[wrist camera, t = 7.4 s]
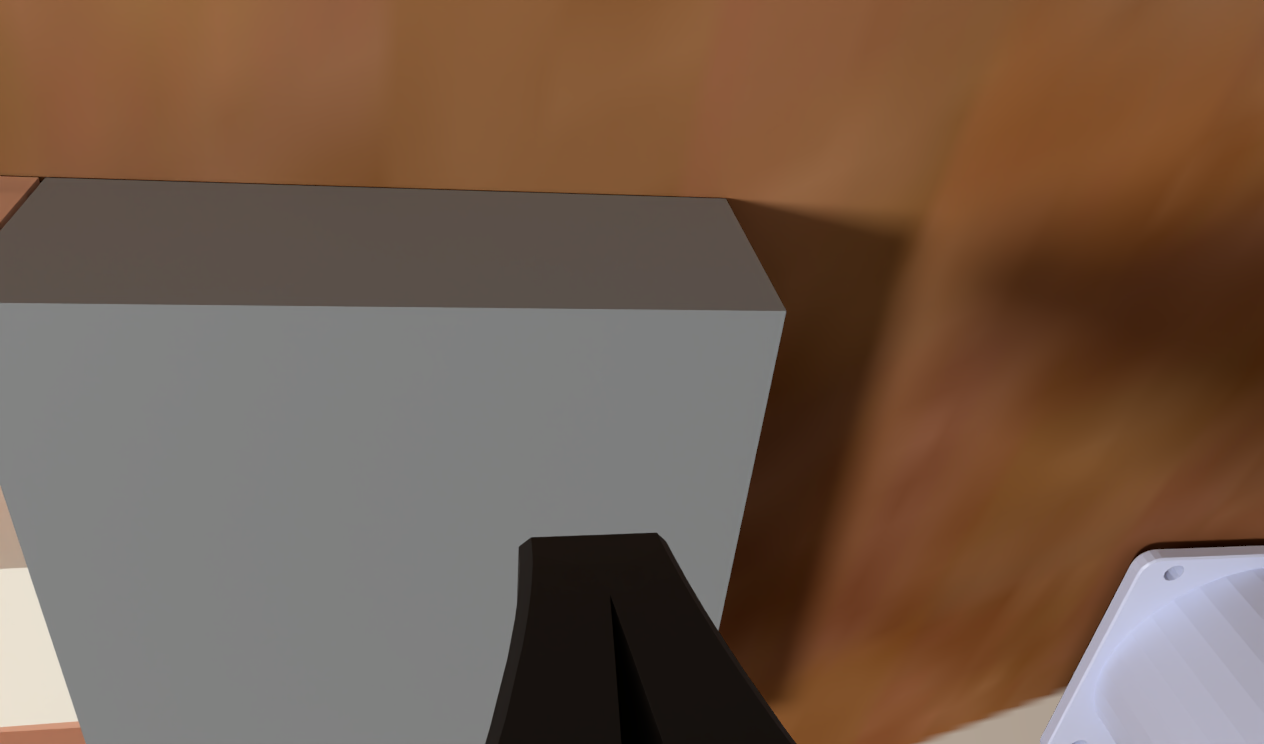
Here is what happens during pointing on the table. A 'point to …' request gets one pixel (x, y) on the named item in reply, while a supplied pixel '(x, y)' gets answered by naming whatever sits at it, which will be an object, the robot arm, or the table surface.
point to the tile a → (26, 644)
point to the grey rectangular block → (355, 436)
